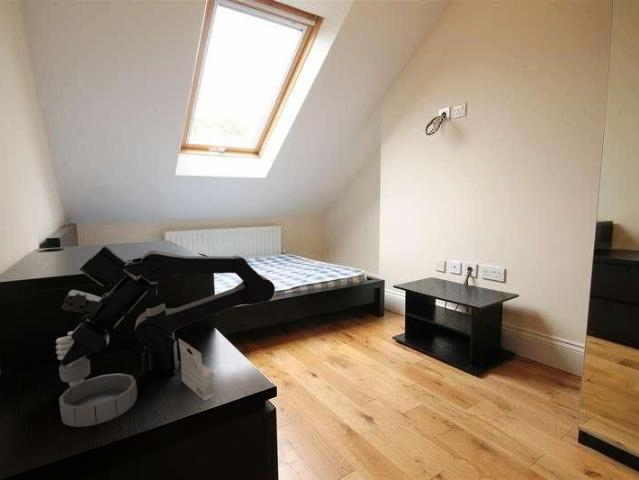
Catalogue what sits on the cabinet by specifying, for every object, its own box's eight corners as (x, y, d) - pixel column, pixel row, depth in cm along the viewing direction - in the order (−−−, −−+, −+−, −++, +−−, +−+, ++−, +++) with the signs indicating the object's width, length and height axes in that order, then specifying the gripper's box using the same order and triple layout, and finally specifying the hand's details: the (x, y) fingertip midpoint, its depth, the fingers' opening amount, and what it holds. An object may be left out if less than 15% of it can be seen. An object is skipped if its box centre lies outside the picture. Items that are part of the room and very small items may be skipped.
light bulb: (87, 391, 72) (81, 335, 71) (55, 396, 71) (49, 339, 69) (96, 378, 78) (91, 326, 76) (66, 383, 76) (61, 329, 75)
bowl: (144, 386, 74) (142, 370, 73) (124, 421, 62) (122, 402, 62) (80, 393, 72) (78, 377, 71) (47, 431, 60) (45, 412, 59)
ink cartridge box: (192, 377, 78) (189, 334, 76) (215, 397, 69) (212, 349, 68) (180, 381, 76) (177, 337, 75) (203, 402, 68) (200, 353, 67)
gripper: (95, 268, 82) (41, 323, 78) (79, 285, 65) (10, 355, 61) (136, 297, 86) (87, 350, 82) (131, 320, 69) (69, 387, 66)
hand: (65, 358), depth 73 cm, fingers closed on light bulb, 5 cm apart
